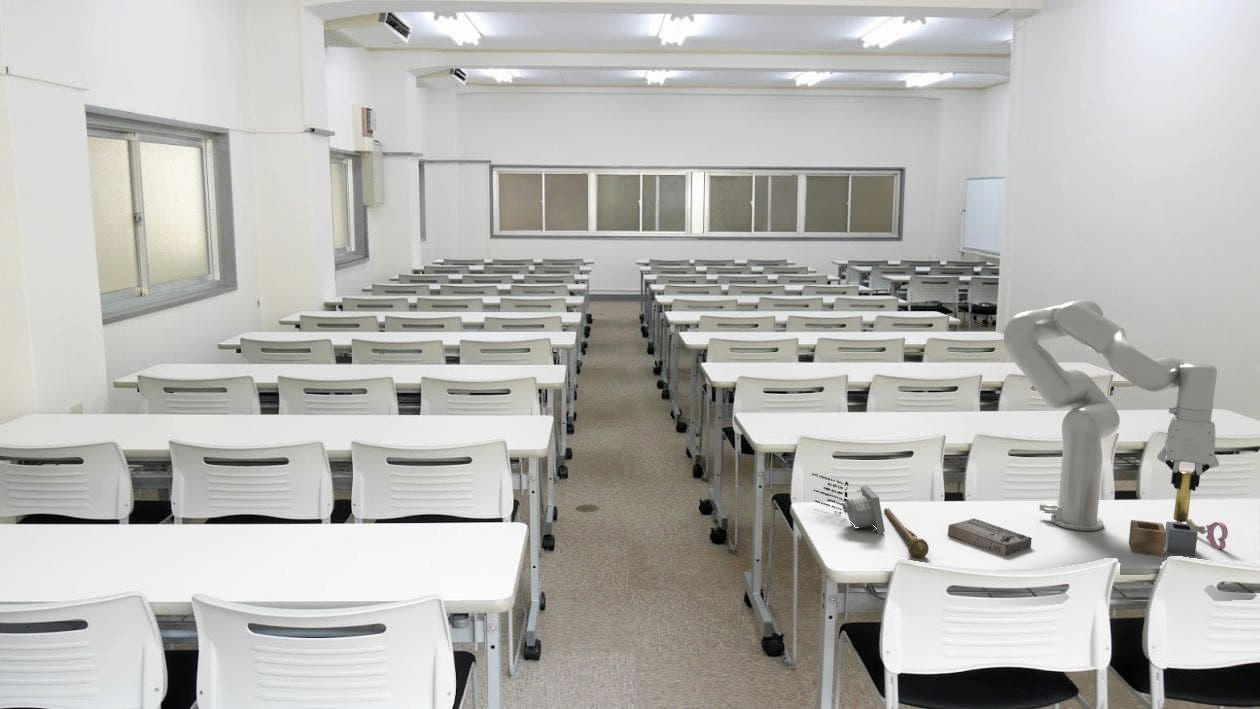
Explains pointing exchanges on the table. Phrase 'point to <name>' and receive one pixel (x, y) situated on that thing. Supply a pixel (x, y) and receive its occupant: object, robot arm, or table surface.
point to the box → (989, 536)
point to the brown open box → (1147, 538)
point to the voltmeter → (859, 507)
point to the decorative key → (1211, 532)
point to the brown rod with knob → (910, 537)
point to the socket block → (1180, 538)
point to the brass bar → (1183, 496)
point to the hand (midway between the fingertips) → (1184, 487)
